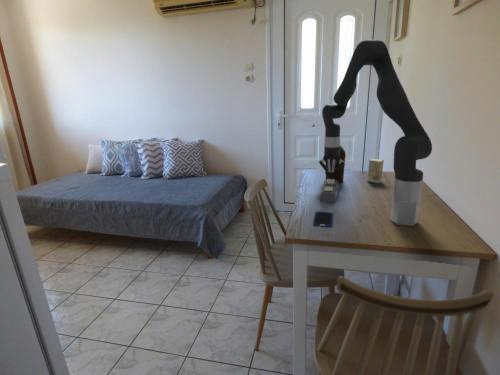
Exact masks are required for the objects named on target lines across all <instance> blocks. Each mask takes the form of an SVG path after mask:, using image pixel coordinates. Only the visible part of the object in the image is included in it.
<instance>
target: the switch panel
mask: <svg viewBox="0 0 500 375" xmlns="http://www.w3.org/2000/svg"><path fill="white" fill-rule="evenodd" d="M325 186H332V187H333V190H332V191H324V188H325ZM338 189H339V184H338V181H337V180H335V182H334V184H327V180H326V179H325V180H324V181H323V185H322V188H321V189H320V190H321V191H320V194H319V202H326V203H336V201H337V195H338Z"/></svg>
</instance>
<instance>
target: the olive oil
mask: <svg viewBox="0 0 500 375" xmlns="http://www.w3.org/2000/svg"><path fill="white" fill-rule="evenodd" d="M340 158H341V160H343V161H344V164H343V165H342V166H341V167H340V169H339V170H338V171H335V172H334V178H332V179H335V180H337V181H338V185H340V184H342V183H343V182H344V173H345V164H346V151H345V149H344V148H343V147H342V145H340ZM339 162H340V161H339ZM339 162H338V163H337V164H336V165H335V168H336V167H337V166H338V165H339ZM325 165H326V167H327V168H328V165H327V164H326V163H325ZM324 171H325V170H324ZM331 171H332V165H331ZM324 173H325V180H327V179H329V178H328V171H325V172H324Z"/></svg>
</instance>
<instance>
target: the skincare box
mask: <svg viewBox="0 0 500 375" xmlns="http://www.w3.org/2000/svg"><path fill="white" fill-rule="evenodd" d="M383 170H384V159H379V158H378V159H376V158H371V159H369V161H368V171H367V172H368V173H367V179H366V181H367V182H370V183H373V184H374V183H375V184H380V183H381V182H382V178H383Z"/></svg>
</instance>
